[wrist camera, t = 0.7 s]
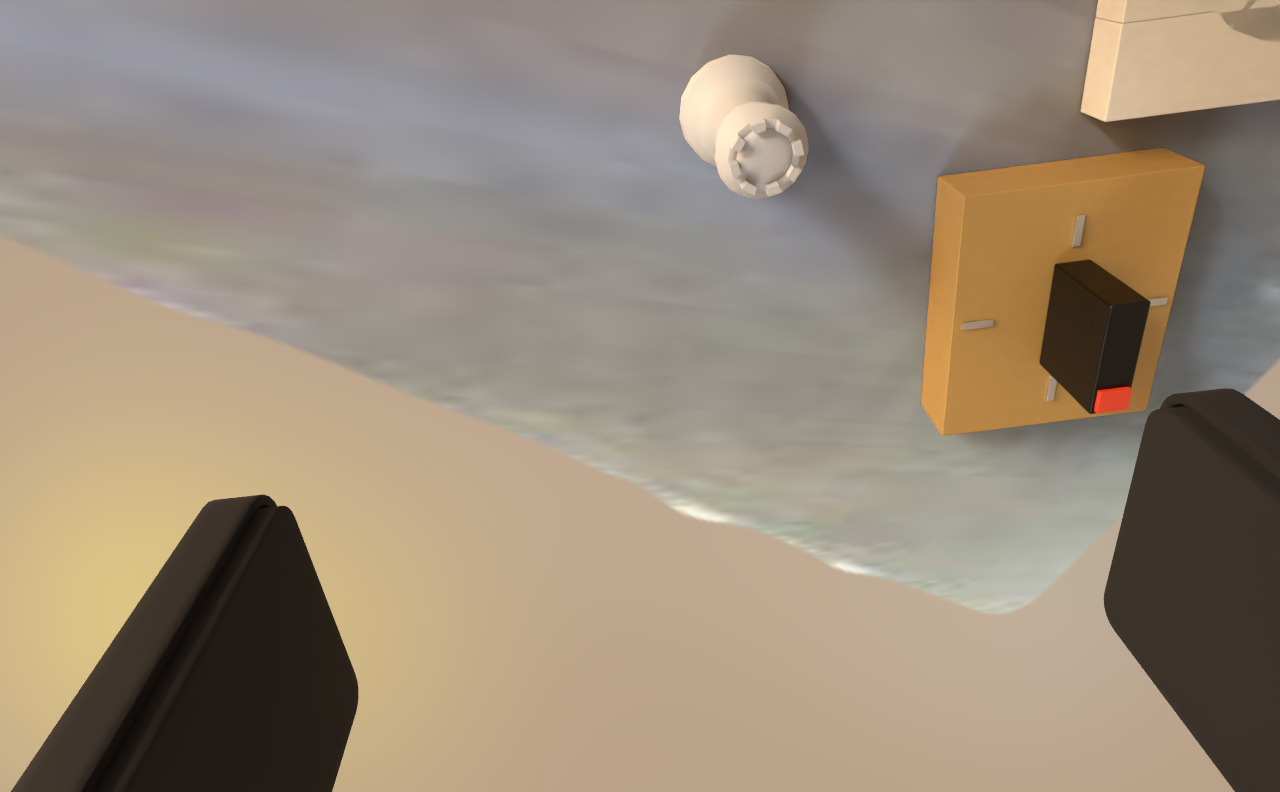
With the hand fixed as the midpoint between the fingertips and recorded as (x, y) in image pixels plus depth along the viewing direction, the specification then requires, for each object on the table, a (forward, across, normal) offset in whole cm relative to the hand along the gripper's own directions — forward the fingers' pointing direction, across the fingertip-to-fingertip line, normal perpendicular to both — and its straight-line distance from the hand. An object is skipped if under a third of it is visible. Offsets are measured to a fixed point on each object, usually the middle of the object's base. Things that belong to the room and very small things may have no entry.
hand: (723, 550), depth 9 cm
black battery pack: (+26, -18, +11) cm, 33 cm away
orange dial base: (+29, -18, +11) cm, 36 cm away
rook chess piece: (+29, -4, +1) cm, 29 cm away
